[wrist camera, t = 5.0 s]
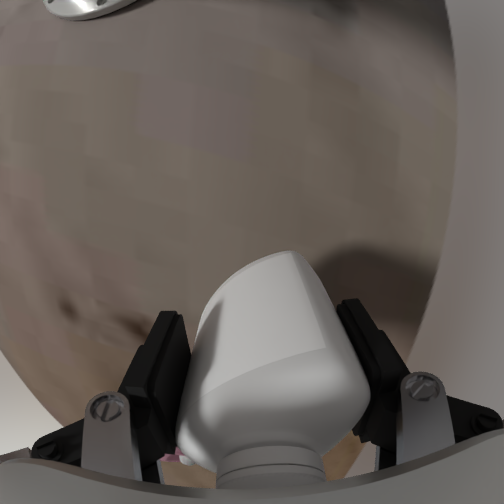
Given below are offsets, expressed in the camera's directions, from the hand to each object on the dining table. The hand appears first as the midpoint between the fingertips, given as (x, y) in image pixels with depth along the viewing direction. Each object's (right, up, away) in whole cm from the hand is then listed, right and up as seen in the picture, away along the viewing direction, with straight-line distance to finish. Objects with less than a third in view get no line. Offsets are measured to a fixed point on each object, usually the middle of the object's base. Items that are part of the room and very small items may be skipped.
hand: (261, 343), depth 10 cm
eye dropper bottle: (0, +1, +4) cm, 4 cm away
